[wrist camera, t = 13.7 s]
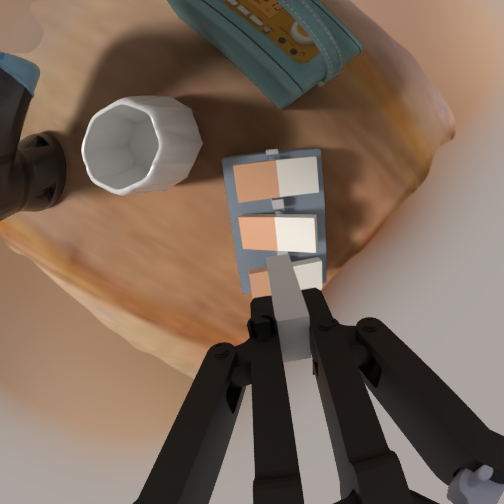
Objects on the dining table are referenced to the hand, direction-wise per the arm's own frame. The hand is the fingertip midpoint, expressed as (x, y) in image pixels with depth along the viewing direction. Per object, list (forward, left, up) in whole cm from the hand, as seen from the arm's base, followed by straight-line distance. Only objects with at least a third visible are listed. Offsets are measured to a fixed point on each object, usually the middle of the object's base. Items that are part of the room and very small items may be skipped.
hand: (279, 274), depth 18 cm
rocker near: (+2, +4, -18) cm, 19 cm away
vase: (-14, +11, -26) cm, 32 cm away
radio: (+2, +26, -26) cm, 37 cm away
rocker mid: (+2, -3, -18) cm, 19 cm away
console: (+2, -3, -26) cm, 26 cm away
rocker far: (+2, -10, -18) cm, 21 cm away
